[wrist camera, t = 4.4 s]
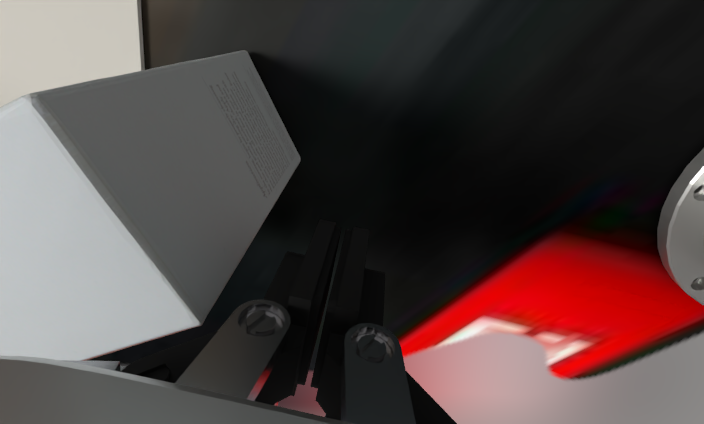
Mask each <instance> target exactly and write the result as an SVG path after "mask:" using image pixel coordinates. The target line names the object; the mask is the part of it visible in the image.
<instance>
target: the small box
mask: <svg viewBox="0 0 704 424" xmlns="http://www.w3.org/2000/svg"><path fill="white" fill-rule="evenodd" d="M300 161H301V158H300V155H299V154H298V152H297V150H296V148H295V146H294V144H293V142H292V140H291V138H290V136H289V134H288V132H287V130H286V128H285V126H284V124H283V122H282V120H281V118H280V116H279V114H278V112H277V110H276V108H275V106H274V104H273V102H272V100H271V98H270V96H269V94H268V92H267V90H266V88H265V86H264V84H263V82H262V80H261V78H260V76H259V74H258V72H257V70H256V68H255V66H254V64H253V62H252V60H251V58H250V56H249V54H248V52H247V51H245V50H242V51H237V52H233V53H228V54H223V55H219V56H214V57H209V58H204V59H199V60H193V61H187V62H182V63H177V64H172V65H167V66H163V67H158V68H153V69H148V70H143V71H138V72H133V73H128V74H123V75H118V76H113V77H107V78H102V79H96V80H91V81H87V82H82V83H77V84H72V85H67V86H63V87H58V88H53V89H49V90H44V91H39V92H34V93H30V94H26V95H24V96H21V97H19V98H17V99H15V100H13V101H11V102H9V103H7V104H5V105H3V106H1V107H0V356H28V357H38V358H48V359H54V360H72V361H85V360H89V359H92V358H95V357H99V356H102V355H105V354H108V353H112V352H115V351H118V350H121V349H125V348H127V347H131V346H134V345H138V344H141V343H144V342H147V341H150V340H154V339H157V338H160V337H164V336H167V335H170V334H174V333H177V332H180V331H184V330H187V329H190V328H193V327H197V326H201V325H202V324H203V322H204V320H205V318H206V316H207V315H208V313H209V312H210V310H211V308H212V307H213V305H214V304H215V302H216V300H217V299H218V297H219V295H220V293H221V292H222V290H223V288H224V287H225V285H226V284H227V282H228V280H229V279H230V277H231V275H232V274H233V272H234V270H235V269H236V267H237V265H238V264H239V262H240V260H241V259H242V257H243V256H244V254H245V252H246V250H247V249H248V247H249V245H250V244H251V242H252V241H253V239H254V237H255V235H256V234H257V232H258V231H259V229H260V227H261V226H262V224H263V222H264V220H265V219H266V217H267V216H268V214H269V212H270V211H271V209H272V207H273V206H274V204H275V202H276V201H277V199H278V198H279V196H280V194H281V192H282V191H283V189H284V188H285V186H286V184H287V183H288V181H289V179H290V178H291V176H292V174H293V173H294V171H295V169H296V168H297V166H298V165H299V163H300Z"/></svg>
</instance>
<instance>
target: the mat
mask: <svg viewBox="0 0 704 424" xmlns="http://www.w3.org/2000/svg"><path fill="white" fill-rule="evenodd" d="M143 70H145V65H144V48H143V31H142V13H141V0H0V107H1V106H3V105H5V104H7V103H9V102H11V101H13V100H15V99H17V98H19V97H21V96H24V95H26V94H30V93H34V92H39V91H44V90H49V89H53V88H58V87H63V86H67V85H72V84H77V83H82V82H87V81H91V80H96V79H102V78H107V77H113V76H118V75H123V74H128V73H133V72H138V71H143Z"/></svg>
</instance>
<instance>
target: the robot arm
mask: <svg viewBox="0 0 704 424" xmlns="http://www.w3.org/2000/svg"><path fill="white" fill-rule="evenodd" d="M335 226H336V222H332V221H327V220H323V219H320V220H319V222H318V225H317V227H316V230H315V232H314V235H313V237H312V240H311V242H310V245H309V247H308V250H307V252H306V255H302V254H297V253H293V252H287V253H286V254H285V256H284V259H283V261H282V263H281V265H280V267H279V269H278V271H277V273H276V275H275V277H274V279H273V281H272V283H271V285H270V287H269V289H268V291H267V293H266V295H265V297H264V299H263V300H254V301H249V302H247V303H245V304H242V305H241V306H240V307H238V308H237V309H236V310H235V311H234V312H233V314H232V315H231V316H230V317H229V319H228V320H227V321H226V322H225V323H224V325H223V326H222V327H221V328H220V329H219V331H216V332H213V333H210V334H208V335H205V336H202V337H199V338H196V339H194V340H191V341H188V342H185V343H182V344H180V345H177V346H174V347H171V348H169V349H166V350H163V351H160V352H157V353H155V354H152V355H149V356H146V357H143V358H141V359H139V360H137V361H135V362H133V363H131V364H130V365H128V366H127V367H123V366H120V362H119V361H72V360H54V359H48V358H38V357H28V356H0V424H457V423H456V422H455V421H454V420H453V419H452V418H451V417H450V416H449V415H448V414H447V413H446V412H445V411H444V410H443V409H442V408H441V407H440V406H439V405H438V404H437V403H436V402H435V401H434V400H433V398H432V397H431V396H430V395H429V394H427V392H426V391H425V390H424V389H423V388H422V387H421V386H420V385H419V384H418V383H417V382H416V381H415V380H414V379H413V378H412V377H411V376H410V375H409V374H408V373H407V372H406V371H405V366H404V361H403V356H402V351H401V346H400V344H399V341H398V339H397V338H396V337H395V336H394V334H393V333H391V332H390V331H389V330H388V329H386V328H384V327H383V312H384V291H385V273H383V272H378V271H374V270H369V269H365V262H366V254H367V247H368V239H369V232H370V230H368V229H363V228H359V227H354V228H353V231H352V230H348V229H346V233H345V237H344V241H343V245H342V249H341V253H340V257H339V261H338V265H337V269H336V273H335V277H334V281H333V285H332V289H331V294H330V298H329V302H328V306H327V311H326V315H325V320H324V325H323V330H322V334H321V339H320V344H319V349H318V354H317V358H316V363H315V368H314V373H313V378H312V383H311V387H315V388H318V392H317V396H316V401H317V402H318V403H319V405H320V406H321V407H322V409H323V410H324V412H325V413H326V415H325V417H322V416H317V415H313V414H309V413H305V412H300V411H296V410H291V409H287V408H282V407H278V402H279V401H281V400H282V399H284V398H286V397H288V396H290V395H292V396H294V395H295V391H296V387H297V384H302V385H305V382H306V378H307V374H308V370H309V367H310V363H311V359H312V355H313V351H314V347H315V343H316V339H317V335H318V331H319V328H320V324H321V320H322V316H323V312H324V308H325V304H326V300H327V296H328V291H329V286H330V282H331V277H332V272H333V267H334V262H335V257H336V252H337V248H338V243H339V238H340V233H341V228H339V227H335ZM657 240H658V251H659V254H660V258H661V261H662V264H663V266H664V268H665V269H666V271H667V272H668V274H669V275H670V277H671V279H672V280H673V281H674V282H675V283H676V284H677V285H678V286H680V287H681V288H682V289H683V290H684V291H685V292H686V293H687V294H688V295H689V296H691V297H692V298H694V299H695V300H696V301H698V302H699V303H701V304H702V305H704V148H703V149H702V151H701V152H700V153H699V154H698V155H697V156H696V157H695V158H694V159H693V160H692V161H691V162H690V163H689V164H688V165H687V166H686V168H685V169H684V171H683V172H682V174H681V175H680V177H679V178H678V179H677V181H676V182H675V184H674V185H673V187H672V188H671V190H670V193H669V195H668V197H667V199H666V201H665V203H664V206H663V208H662V211H661V215H660V220H659V224H658V228H657Z"/></svg>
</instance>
